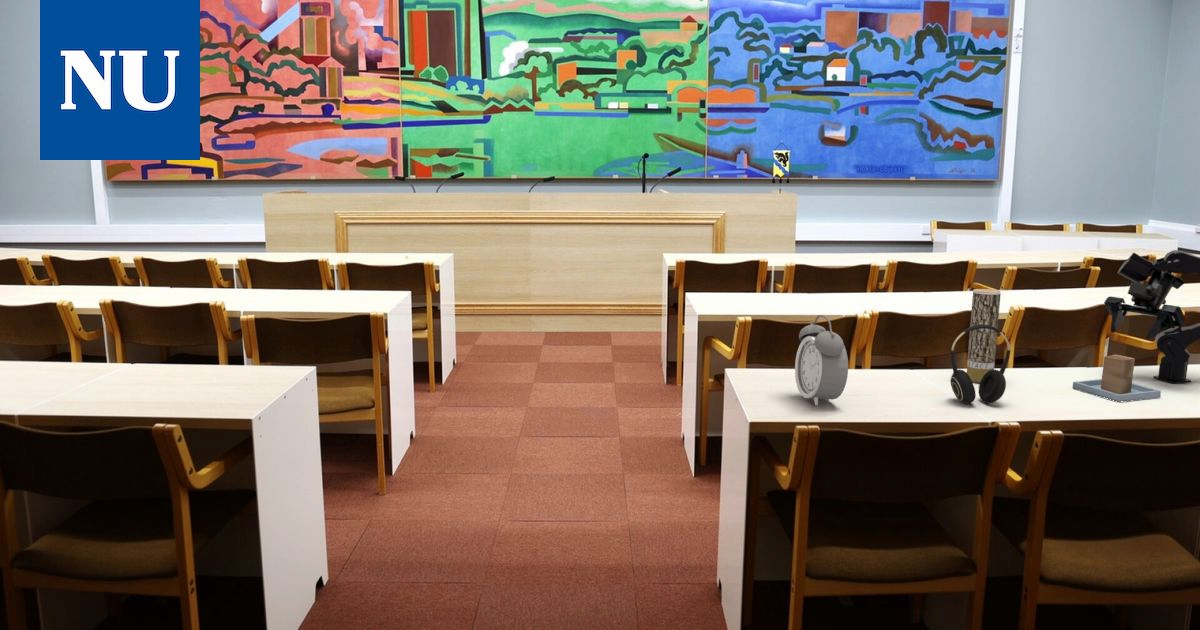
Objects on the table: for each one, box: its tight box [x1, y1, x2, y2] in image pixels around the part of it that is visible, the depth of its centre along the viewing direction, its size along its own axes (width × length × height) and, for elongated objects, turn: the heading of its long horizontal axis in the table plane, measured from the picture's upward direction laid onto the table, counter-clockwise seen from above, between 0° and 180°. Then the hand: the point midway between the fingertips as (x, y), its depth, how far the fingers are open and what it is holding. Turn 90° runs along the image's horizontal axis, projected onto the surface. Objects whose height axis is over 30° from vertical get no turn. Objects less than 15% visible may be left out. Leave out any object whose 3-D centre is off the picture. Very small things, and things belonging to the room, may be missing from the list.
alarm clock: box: [794, 314, 849, 406], centre depth 217 cm, size 16×9×22 cm, turn 9°
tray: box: [1072, 378, 1162, 403], centre depth 227 cm, size 14×14×2 cm
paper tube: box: [966, 288, 1002, 384], centre depth 237 cm, size 7×7×25 cm
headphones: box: [950, 324, 1011, 404], centre depth 216 cm, size 9×15×20 cm, turn 91°
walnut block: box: [1101, 354, 1136, 394], centre depth 226 cm, size 5×5×9 cm
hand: (1129, 334), depth 233 cm, fingers open, 9 cm apart
